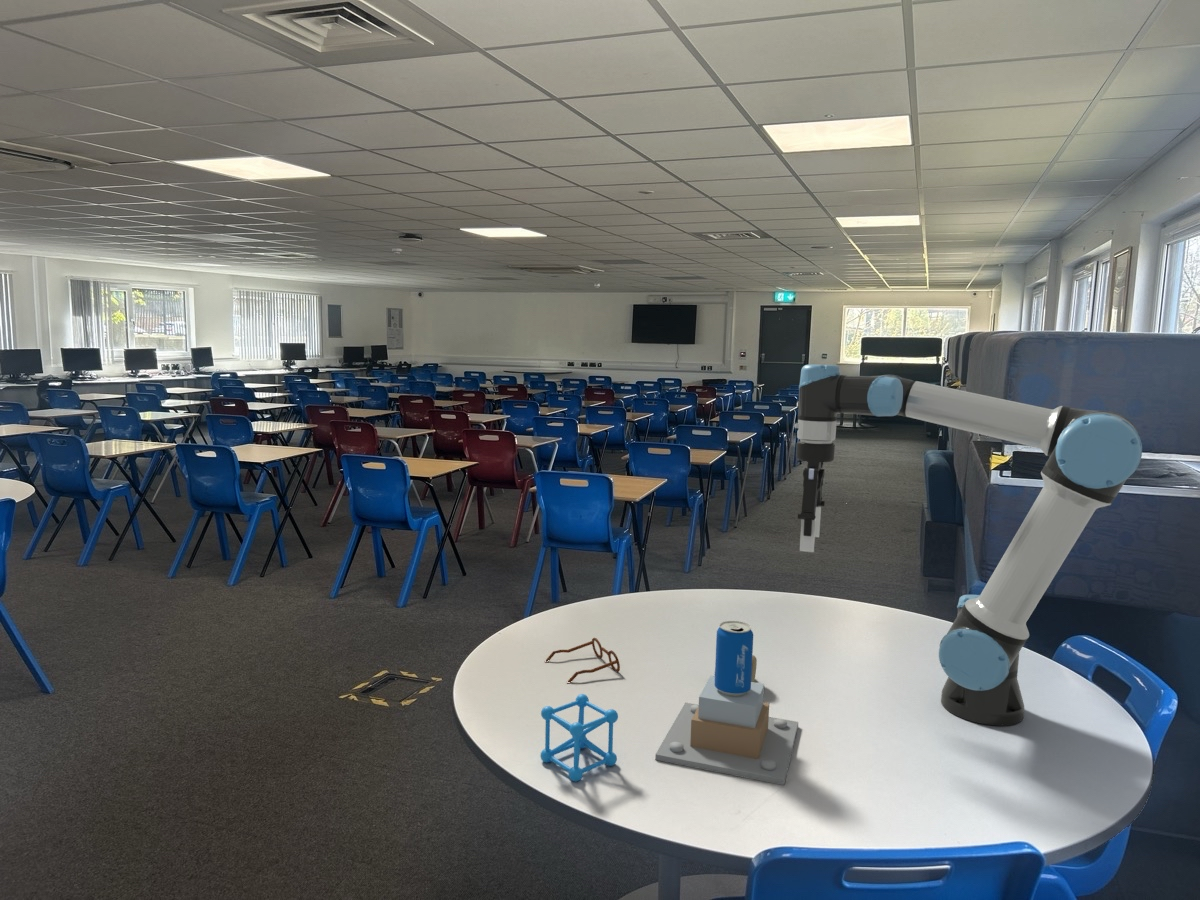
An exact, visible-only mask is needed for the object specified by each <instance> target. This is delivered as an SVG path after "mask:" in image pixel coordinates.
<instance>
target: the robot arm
mask: <svg viewBox="0 0 1200 900" xmlns="http://www.w3.org/2000/svg"><path fill="white" fill-rule="evenodd" d="M798 389H799V390H798V411H797V412H798V415H797V423H795V424H794V429H797V435H796V438H797V439H799V441H797V442H796V446H795V447H796V449H795V458H796V459H797V460H798V461H801V462H807V467H805V468H804V469H803V472H802V478H803V480H802V482H803V483H802V488H803V489H802V490H803V493H802V501H801V503H802V504H801V512H800V513H798V514H797V519H799V520H800V535H799V536H800V537H799V552H805V553H806V552H807V553H815V540H816V538H820V532H821V516H822V515H821V514H822V513H821V512H822V507H825V504H826V503H825V500H823V485H824V478H825V469H823V468H824V467H823V466H824V463H831V462H833V461H834V460H835V447H836V445H835V443H834V441H835V440H836V435H837V434H836V433H837V421H838V420H837V415H838V414H852V415H863V416H875V417H878V418H880V417H894V416H902V417H906V418H911V419H916V420H920V421H923V422H928V423H932V424H936V425H940V426H945V427H949V428H952V429H957V430H961V431H965V432H970V433H974V434H978V435H982V436H987V437H991V438H995V439H999V440H1003V441H1008V442H1011V443H1016V444H1019V445H1024V446H1028V447H1032V448H1037V449H1040V450H1041V451H1042V452H1043V454H1044V455H1045V456H1048V457H1049V458H1048V459H1047V461H1046V462H1045V464H1044V466H1043V468H1042V469H1041V472H1040V475H1041V477H1042V481H1043V487H1042V488H1041V490H1040V492H1039V494H1038V496H1037V497H1036V499H1035V500H1034V502H1033V503H1032V506H1031V507H1030V509H1029V511H1028V513H1027V514H1026V516H1025V518H1024V519H1023V521H1022V523H1021V525H1020V527H1019V528H1018V530H1016V533H1015V535H1014V537H1013V538H1012V540H1011V542H1010V543H1009V545H1008V547H1007V548H1006V550H1005V552H1004V554H1003V556H1002V557H1001V559H1000V561H999V562H998V564H997V566H996V568H994V571H993V573H992V574H991V576H990V577H989V579H988V581H987V583H986V584H985V586H984V588H983V589H982V591H981V593H980V594H963V595H961V596H960V597H959V599H958V603H957V605H956V608H957V615H956V617H955V619H954V621H953V622H952V625H951V626H950V628H949V629H948V631H947V633H946V634H945V635H944V636H943V637H942V639H941V640H940V643H939V648H938V660H939V664H940V666H941V668H942V670H943V671H944V673H945V674H946V676H947V679H946V681H945V683H944V685H943V686H942V689H941V697H940V703H941V705H942V707H943V708H944V709H945V710H946V711H947V712H950V713H951V714H953V715H954V716H957V717H959V718H962V719H964V720H966V721H969V722H973V723H977V724H980V725H981V724H983V725H988V726H989V725H990V726H998V727H999V726H1000V727H1002V726H1004V727H1005V726H1007V727H1008V726H1014V725H1017V724H1019V723H1021V722H1022V721H1023V720H1024V719H1025V718H1024V716H1025V703H1024V698H1023V696H1022V692H1021V689H1020V685H1019V684H1020V683H1019V680H1018V673H1019V671H1018V670H1019V662H1020V652H1021V650H1022V648H1023V647H1024V645H1025V643H1026V642H1027V641H1028V639H1029V637H1030V632H1029V629H1028V627H1027V621H1028V620H1029V618H1030V617H1031V615H1032V614H1033V612H1034V611H1035V609H1036V607H1037V605H1038V604H1039V603H1040V602H1041V601H1040V600H1041V599H1042V598H1043V596H1044V594H1045V593H1046V591H1047V589H1048V588H1049V586H1050V585H1051V583H1052V581H1053V579H1055V576H1056V575H1057V574H1058V571H1059V570H1060V568H1061V567H1062V565H1063V563H1064V561H1065V560H1066V558H1067V557H1068V555H1069V554H1070V552H1071V550H1072V549H1073V547H1074V546H1075V544H1076V542H1077V540H1078V539H1079V538H1080V537H1081V534H1082V532H1083V531H1084V529H1085V527H1086V526H1087V525H1088V523H1089V522H1090V519H1091V518H1092V517H1093V514H1094V513H1095V511H1096V510H1097V509H1099V508H1104V507H1107V506H1111V505H1112V503H1113V502H1114V501H1115V499H1116V498H1117V496H1118V494H1119V492H1120V491H1121V489H1122V488H1123V486H1124V485H1125V482H1126V481H1127V479H1129V478H1130V476H1132V475H1133V474H1134V473H1135V471H1136V470H1137V469H1138V467H1139V465H1140V463H1141V461H1142V455H1143V444H1142V441H1141V437H1140V436H1141V435H1140V433H1139V431H1138V429H1137V427H1136V426H1135V425H1134V424H1133V422H1132V421H1130V420H1129V419H1128V418H1127V417H1125V416H1124V415H1121V414H1119V413H1117V412H1113V411H1108V410H1090V409H1083V408H1074V407H1069V406H1063V405H1060V406H1057V407H1056V408H1054V409H1051V408H1047V407H1043V406H1042V407H1041V406H1038V405H1032V404H1028V403H1023V402H1018V401H1013V400H1008V399H1003V398H999V397H994V396H989V395H985V394H980V393H975V392H971V391H966V390H961V389H957V388H951V387H947V386H942V385H937V384H932V383H928V382H924V381H918V380H912V379H910V378H909V379H908V378H905V377H901V376H899V375H895V374H890V373H889V374H883V375H871V376H870V375H844V374H841V372H840V366H839V365H836V364H814V363H813V364H805V365H803V366H802V367H801V371H800V378H799V385H798Z"/></svg>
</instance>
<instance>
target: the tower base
mask: <svg viewBox="0 0 1200 900" xmlns="http://www.w3.org/2000/svg"><path fill="white" fill-rule="evenodd" d="M764 693H765V684H764V683H761V682H755V681H754V682H751V689H750V690H749V691H748V692H746V693H745V694H744V695H741V696H729V695H725V694H723V693H721V692H720V691H719V690H718V689H717V688H716V687H715V676H714V675H710V676H709V678H708V679H707V681H706V684H705V685H704V686H703V689H702V690H701V692H700V694H699V696H698V704H696V703H691V702H685V703H683V706H682V707H681V709H680V711H679V713H678V714H677V716H676V718H675V720H674V721H673V723H672V725H671V727H670V729H669V730H668V732H667V733H666V735H665V737H664V738H663V741H662V742H661V744H660V746H659V748H658V749H657V751H656V753H655V761H660V762H666V763H671V764H675V765H681V766H686V767H689V768H696V769H700V770H706V771H711V772H715V773H721V774H727V775H730V776H735V777H741V778H746V779H752V780H755V781H761V782H767V783H771V784H776V785H779V786H780V785H782V786H785V784H786V783H785V782H786V779H787V774H788V771H789V766H790V762H791V758H792V754H793V750H794V744H795V741H796V738H797V737H796V736H797V732H798V728H799V721H795V720H791V719H784V718H779V717H778V718H777V717H773V716H770V714H769V713H770V703H769V702H764V699H765V697H764V695H765V694H764Z"/></svg>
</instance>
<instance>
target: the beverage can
mask: <svg viewBox="0 0 1200 900" xmlns="http://www.w3.org/2000/svg"><path fill="white" fill-rule="evenodd" d="M715 640H716V643H715V661H714V663H715V665H714V674H715V687H716V688H717V689H718V690H719V691H720V692H721V693H723V694H725V695H729V696H741V695H744V694H745V693H746V692H748V691H749V690H750V689H751V674H752V655H753V652H754V650H753V649H754V632H753V631H752V626H751V625H750V624H748V623H746V622H744V621H740V620H739V621H738V620H725V621H722V622H721V623H719V627H718V629H717V630H716V639H715Z"/></svg>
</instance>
